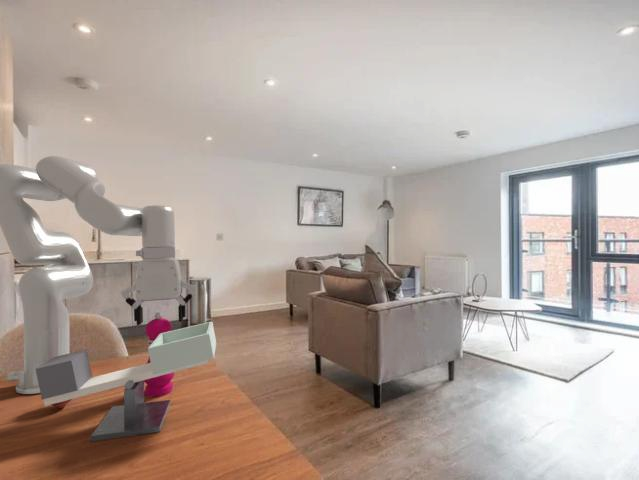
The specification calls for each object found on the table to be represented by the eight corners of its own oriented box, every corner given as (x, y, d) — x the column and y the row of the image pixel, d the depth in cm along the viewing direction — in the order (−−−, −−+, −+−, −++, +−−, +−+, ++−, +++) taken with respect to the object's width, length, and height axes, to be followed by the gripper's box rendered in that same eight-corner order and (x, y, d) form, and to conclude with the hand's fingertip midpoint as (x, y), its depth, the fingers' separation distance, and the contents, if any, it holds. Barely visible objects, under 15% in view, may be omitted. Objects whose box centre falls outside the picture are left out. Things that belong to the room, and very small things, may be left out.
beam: (37, 416, 62) (28, 373, 61) (67, 390, 73) (59, 353, 73) (215, 369, 70) (208, 330, 69) (218, 351, 81) (211, 318, 81)
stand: (90, 441, 64) (90, 398, 64) (112, 411, 75) (112, 375, 75) (159, 431, 67) (159, 391, 67) (170, 404, 78) (170, 369, 78)
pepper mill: (162, 399, 81) (161, 315, 81) (136, 396, 82) (135, 314, 82) (180, 386, 88) (180, 310, 88) (156, 384, 89) (155, 309, 89)
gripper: (116, 256, 80) (117, 328, 79) (193, 253, 84) (195, 322, 84) (125, 255, 87) (127, 322, 87) (196, 253, 91) (198, 316, 91)
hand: (160, 322), depth 85 cm, fingers open, 9 cm apart
